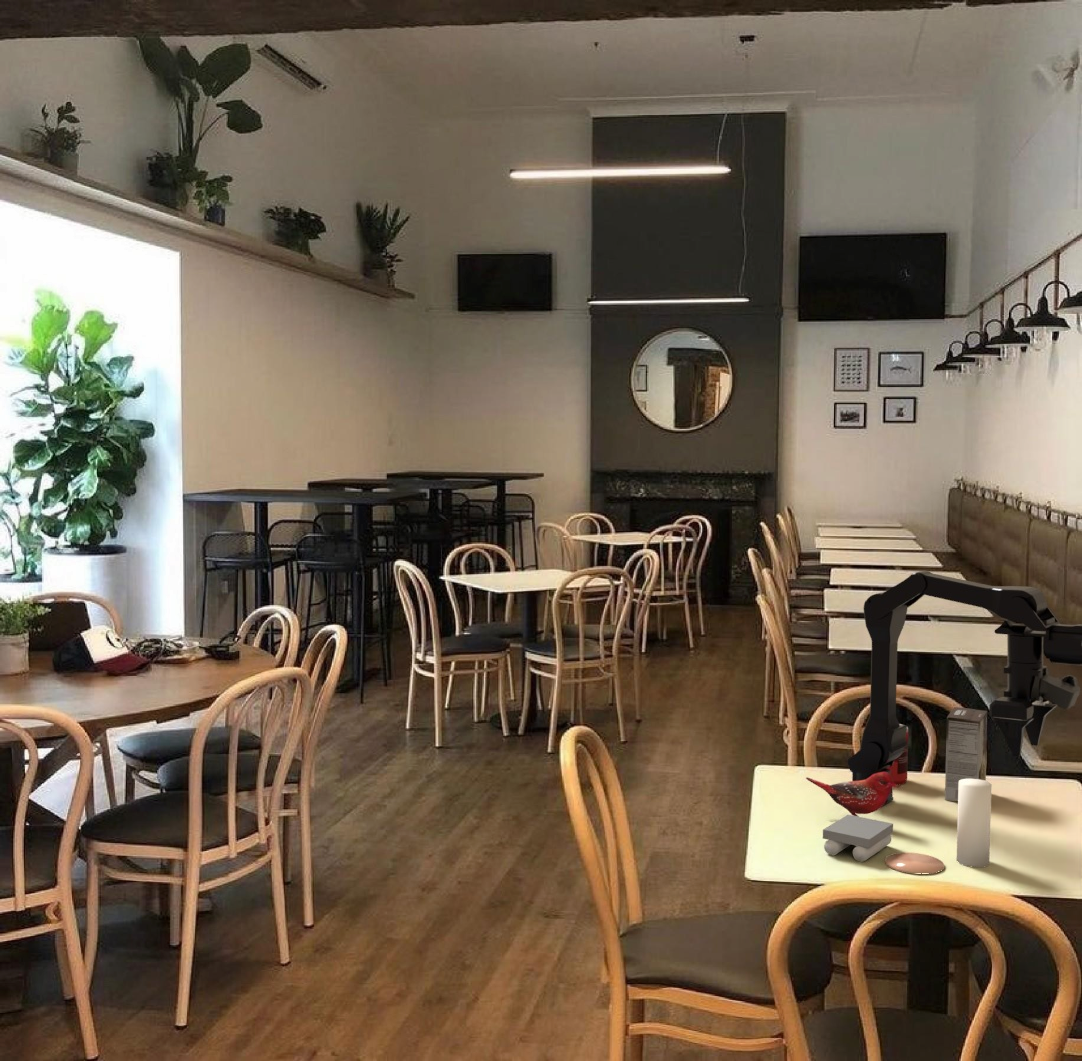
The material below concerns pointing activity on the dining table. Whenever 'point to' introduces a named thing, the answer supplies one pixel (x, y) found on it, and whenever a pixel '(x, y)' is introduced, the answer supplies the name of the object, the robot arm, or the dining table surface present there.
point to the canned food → (900, 766)
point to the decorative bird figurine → (860, 793)
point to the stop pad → (914, 863)
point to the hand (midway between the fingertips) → (1025, 750)
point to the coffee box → (965, 748)
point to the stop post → (974, 822)
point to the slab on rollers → (857, 836)
